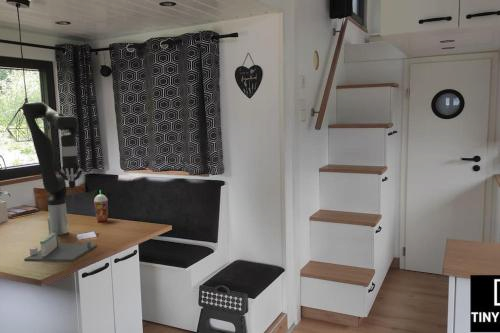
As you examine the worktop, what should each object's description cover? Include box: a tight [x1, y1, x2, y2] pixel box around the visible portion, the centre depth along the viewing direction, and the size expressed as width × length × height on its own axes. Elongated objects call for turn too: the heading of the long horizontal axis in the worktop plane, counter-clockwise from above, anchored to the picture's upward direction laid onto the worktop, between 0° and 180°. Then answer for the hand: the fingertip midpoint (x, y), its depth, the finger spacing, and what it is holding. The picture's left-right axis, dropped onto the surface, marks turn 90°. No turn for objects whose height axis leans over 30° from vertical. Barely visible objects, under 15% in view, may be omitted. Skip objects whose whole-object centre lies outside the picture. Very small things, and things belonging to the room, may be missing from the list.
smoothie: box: [93, 189, 109, 223], centre depth 273 cm, size 8×8×20 cm
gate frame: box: [23, 230, 98, 263], centre depth 210 cm, size 25×23×10 cm
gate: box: [39, 233, 57, 256], centre depth 209 cm, size 15×2×7 cm, turn 4°
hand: (72, 187), depth 226 cm, fingers closed
